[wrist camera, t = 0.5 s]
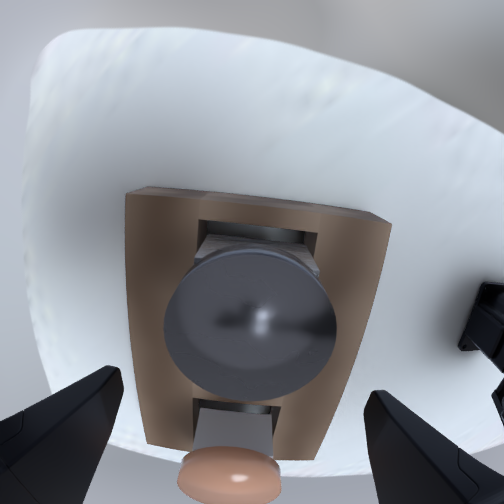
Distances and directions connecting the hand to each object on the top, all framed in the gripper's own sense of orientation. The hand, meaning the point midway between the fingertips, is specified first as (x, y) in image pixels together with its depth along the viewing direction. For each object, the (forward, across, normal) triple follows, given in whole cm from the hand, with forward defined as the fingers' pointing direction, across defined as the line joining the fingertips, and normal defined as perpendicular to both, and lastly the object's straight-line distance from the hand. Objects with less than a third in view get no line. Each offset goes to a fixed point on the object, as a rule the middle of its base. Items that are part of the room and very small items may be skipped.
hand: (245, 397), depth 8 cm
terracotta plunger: (+8, 0, +12) cm, 14 cm away
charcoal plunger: (+8, 0, 0) cm, 8 cm away
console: (+12, 0, +6) cm, 13 cm away
